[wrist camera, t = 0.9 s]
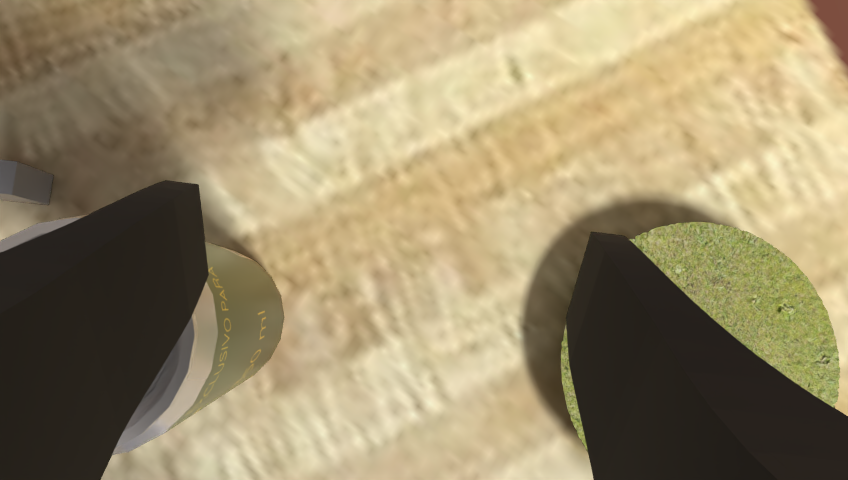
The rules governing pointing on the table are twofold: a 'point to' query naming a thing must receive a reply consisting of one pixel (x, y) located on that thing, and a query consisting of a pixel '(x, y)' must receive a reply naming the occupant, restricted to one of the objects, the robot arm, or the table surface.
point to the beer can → (202, 340)
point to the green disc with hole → (743, 302)
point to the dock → (24, 183)
